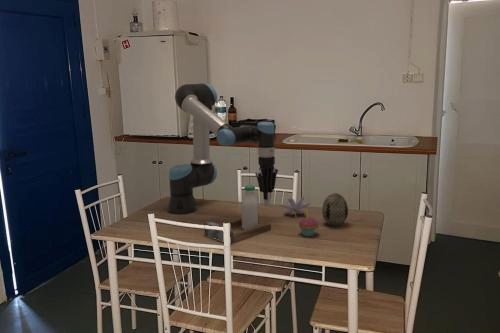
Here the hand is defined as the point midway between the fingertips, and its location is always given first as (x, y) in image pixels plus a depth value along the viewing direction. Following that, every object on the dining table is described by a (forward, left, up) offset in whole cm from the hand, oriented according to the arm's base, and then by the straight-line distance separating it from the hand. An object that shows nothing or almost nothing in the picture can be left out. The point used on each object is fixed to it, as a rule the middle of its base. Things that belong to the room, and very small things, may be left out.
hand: (267, 205), depth 210 cm
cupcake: (+24, +1, -9) cm, 25 cm away
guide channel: (0, -19, -9) cm, 20 cm away
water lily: (+2, +18, -9) cm, 20 cm away
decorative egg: (+25, +19, -9) cm, 32 cm away
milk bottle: (0, -11, -9) cm, 14 cm away
